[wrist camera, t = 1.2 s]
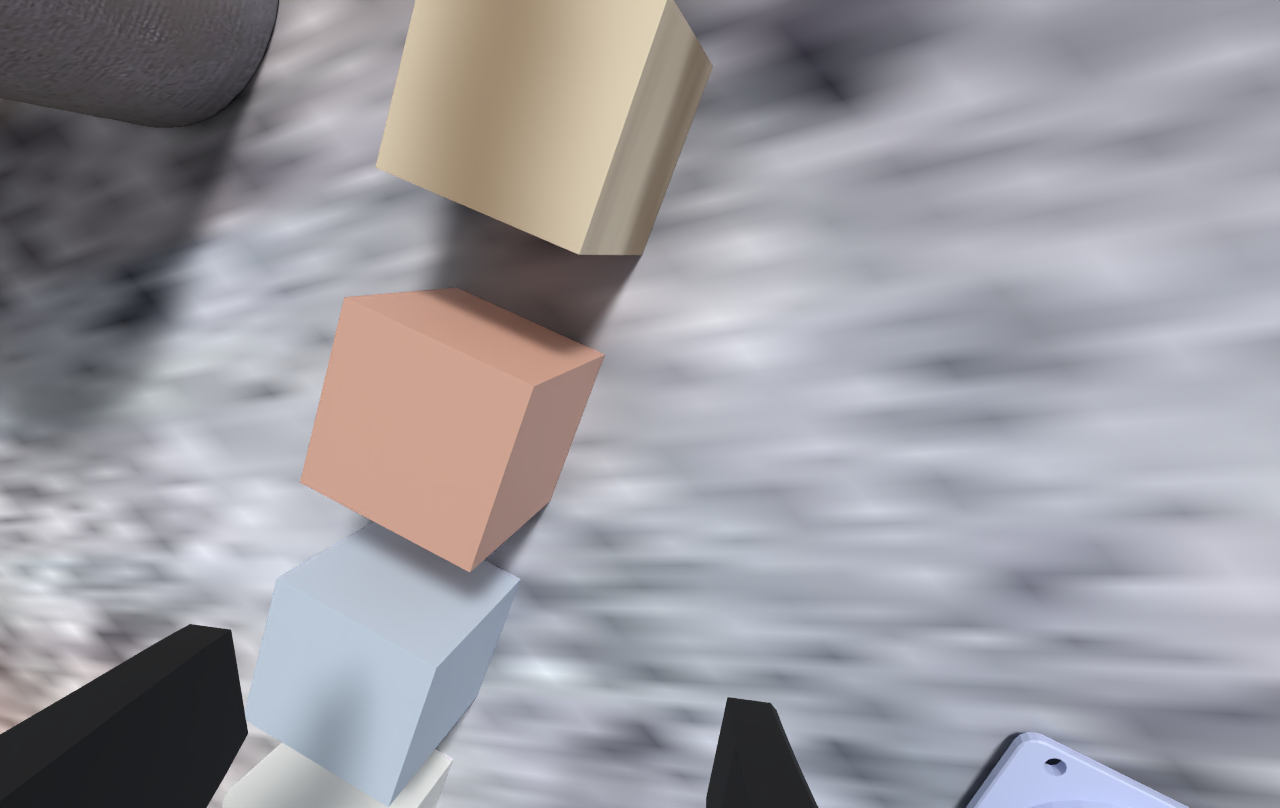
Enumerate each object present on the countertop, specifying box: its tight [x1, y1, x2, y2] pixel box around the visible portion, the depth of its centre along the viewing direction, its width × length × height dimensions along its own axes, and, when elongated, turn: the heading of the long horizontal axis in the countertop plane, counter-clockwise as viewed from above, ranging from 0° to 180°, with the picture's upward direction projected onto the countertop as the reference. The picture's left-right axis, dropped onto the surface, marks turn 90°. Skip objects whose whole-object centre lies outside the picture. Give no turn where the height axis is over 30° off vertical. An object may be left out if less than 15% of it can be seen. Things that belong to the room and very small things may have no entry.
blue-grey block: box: [245, 522, 521, 807], centre depth 20 cm, size 5×5×5 cm
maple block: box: [375, 0, 713, 255], centre depth 16 cm, size 5×5×5 cm
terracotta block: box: [300, 288, 605, 572], centre depth 18 cm, size 5×5×5 cm
